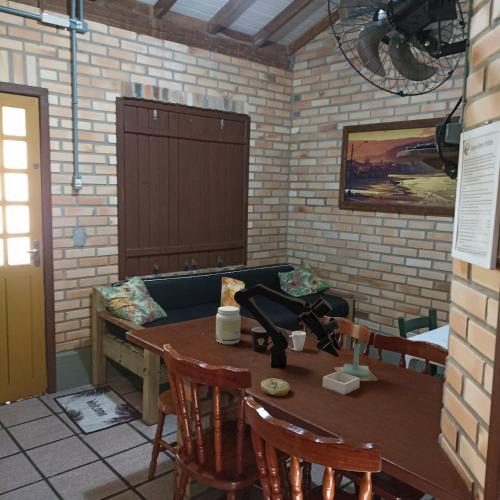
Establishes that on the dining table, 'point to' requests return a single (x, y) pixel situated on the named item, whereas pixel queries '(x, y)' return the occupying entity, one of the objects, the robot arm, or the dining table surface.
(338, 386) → the tub
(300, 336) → the cup
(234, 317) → the supplement tub
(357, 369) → the lid
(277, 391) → the decorated donut
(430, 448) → the dining table surface
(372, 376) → the board
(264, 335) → the coffee mug
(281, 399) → the dining table surface
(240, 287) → the pancake mix bag
